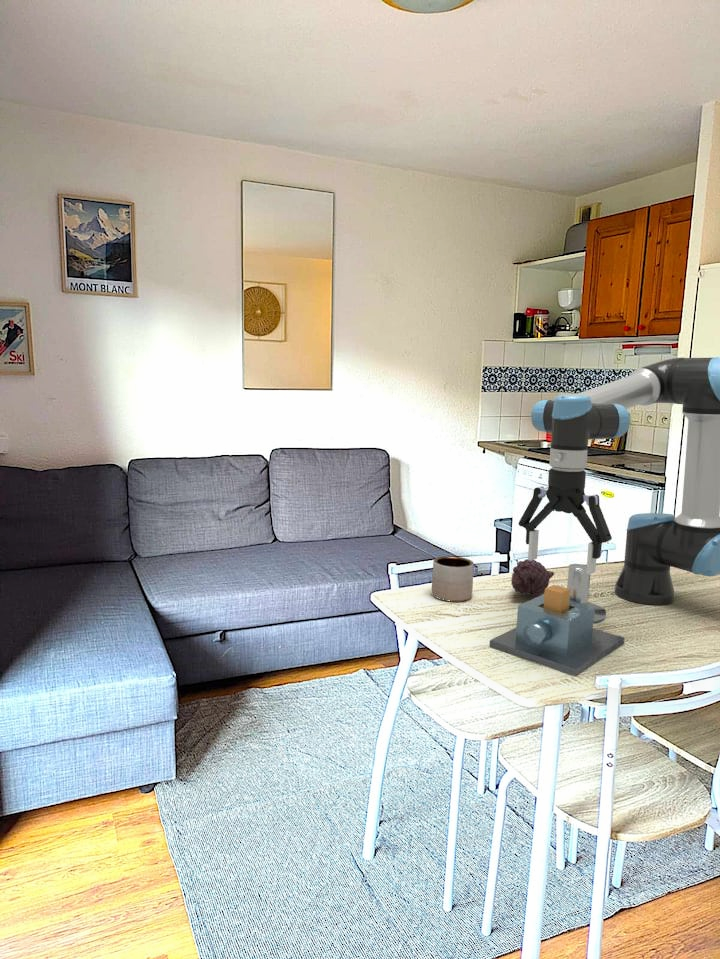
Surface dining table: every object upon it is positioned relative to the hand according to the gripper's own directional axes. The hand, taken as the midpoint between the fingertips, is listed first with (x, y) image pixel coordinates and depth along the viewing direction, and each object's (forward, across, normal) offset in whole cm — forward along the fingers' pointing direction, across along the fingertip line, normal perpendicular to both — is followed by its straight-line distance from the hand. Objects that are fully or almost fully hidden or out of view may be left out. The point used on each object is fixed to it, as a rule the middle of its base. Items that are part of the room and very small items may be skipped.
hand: (560, 565), depth 147 cm
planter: (+19, -36, +11) cm, 42 cm away
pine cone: (+19, -22, +27) cm, 40 cm away
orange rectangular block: (+17, 0, -1) cm, 17 cm away
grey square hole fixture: (+19, 0, +3) cm, 19 cm away
